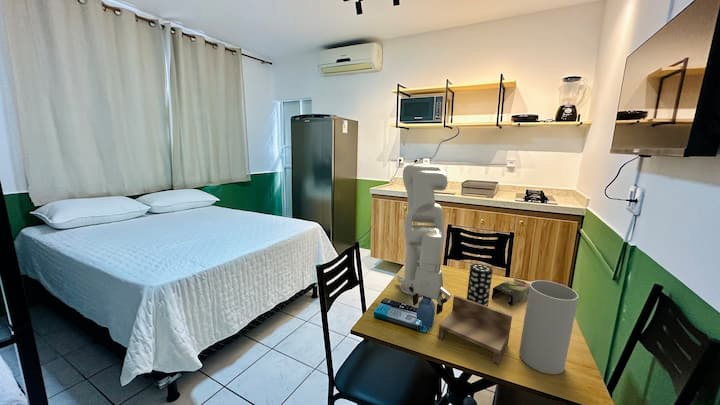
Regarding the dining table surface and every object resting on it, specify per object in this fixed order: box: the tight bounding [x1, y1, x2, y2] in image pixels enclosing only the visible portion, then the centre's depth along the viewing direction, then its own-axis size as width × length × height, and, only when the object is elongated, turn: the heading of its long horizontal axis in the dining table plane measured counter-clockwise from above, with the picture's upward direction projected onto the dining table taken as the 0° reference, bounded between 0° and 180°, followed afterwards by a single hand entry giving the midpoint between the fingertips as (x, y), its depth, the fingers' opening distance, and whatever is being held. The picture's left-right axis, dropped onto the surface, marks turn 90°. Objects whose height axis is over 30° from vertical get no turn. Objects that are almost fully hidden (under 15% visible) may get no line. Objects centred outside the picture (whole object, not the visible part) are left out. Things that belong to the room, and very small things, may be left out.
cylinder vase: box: [518, 279, 579, 375], centre depth 91 cm, size 12×12×25 cm
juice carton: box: [491, 278, 530, 307], centre depth 134 cm, size 20×10×6 cm, turn 127°
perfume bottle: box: [415, 295, 436, 329], centre depth 111 cm, size 6×6×12 cm
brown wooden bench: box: [437, 294, 513, 367], centre depth 101 cm, size 20×13×12 cm, turn 51°
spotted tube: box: [466, 263, 493, 307], centre depth 118 cm, size 8×8×20 cm
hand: (426, 308), depth 110 cm, fingers open, 9 cm apart
